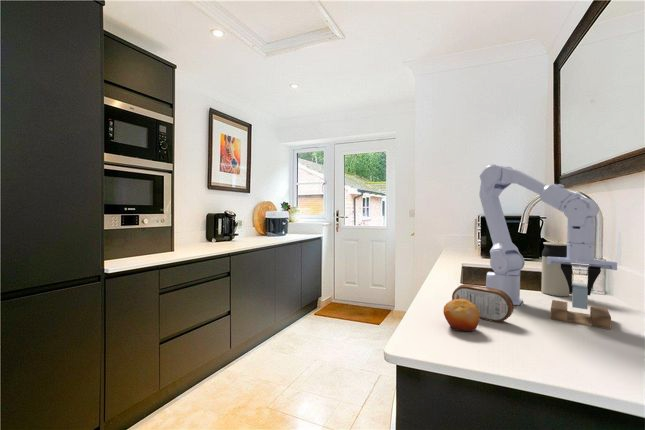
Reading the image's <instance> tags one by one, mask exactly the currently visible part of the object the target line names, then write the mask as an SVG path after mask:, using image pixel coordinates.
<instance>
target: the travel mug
mask: <svg viewBox="0 0 645 430" xmlns="http://www.w3.org/2000/svg"><path fill="white" fill-rule="evenodd" d="M542 243H543V245H544V248H543V250H542V252H541V286H540V287H541V290H540V291H541V292H542V293H543V294H545V293H546V294H545V295H548V294H550V295H549V296H552V295H554V297H562V296H563V297H569V296H570V293H569V286H568V283H567V280H566V278H565V275H564V273H563V271H562V269H561V265H557V264H547V257H566V258H567V242H557V241H556V242H553V241H551V242H550V241H545V242H542ZM569 264H571V263H569Z"/></svg>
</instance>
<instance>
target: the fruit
mask: <svg viewBox="0 0 645 430" xmlns="http://www.w3.org/2000/svg"><path fill="white" fill-rule="evenodd" d="M442 311H443V317H444V318H445V320H446V322H447V323H448V325H449V327H450V328H451V329H452V330H454V331H463V332H472V331H473V332H474V330H476V329H477V328H478V325H479V322H480V319H481V318H480V313H479V311H478V308H477V306H476V305H474V304H473V303H471V302H470V301H468V300H467V299H454V300H452V299H451V300H449V301H447V302H446V303H445V305H444V306H443V310H442Z"/></svg>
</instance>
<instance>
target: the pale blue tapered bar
mask: <svg viewBox="0 0 645 430" xmlns="http://www.w3.org/2000/svg"><path fill="white" fill-rule="evenodd" d="M572 287H573V293H571V296H572V297H571V299H572V300H571V301H572V308H575V309H580V310H588V307H589V306H588V305H589V304H588V300H589V299H588V296H589V295H588V289H587V283H586V284H585V283H578V282H577V283H576V282H572Z"/></svg>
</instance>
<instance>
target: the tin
mask: <svg viewBox="0 0 645 430" xmlns="http://www.w3.org/2000/svg"><path fill="white" fill-rule="evenodd" d="M454 299H467V300H468V301H470V302H471V303H473V304H474V305H476V306H477V308H478V311H479V313H480V318H479V319H482V320H486V321H490V322H494V323H495V322H496V323H500V322H501V323H502V322H504V321H506V320H507V319H508V318H510V317H511V316H512V315H513V313H514V309H515V308H514V305H513V302H512V300H511V298H510V297H509V296H508V295H507V294H506V293H505V292H503V291H501V290H499V289H494V288H488V287H486V286H481V285H476V284H470V283H465V284H461V285H459V286H458V287H457V288H455V289H454V290H453V292H452V295H451V300H454Z"/></svg>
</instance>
